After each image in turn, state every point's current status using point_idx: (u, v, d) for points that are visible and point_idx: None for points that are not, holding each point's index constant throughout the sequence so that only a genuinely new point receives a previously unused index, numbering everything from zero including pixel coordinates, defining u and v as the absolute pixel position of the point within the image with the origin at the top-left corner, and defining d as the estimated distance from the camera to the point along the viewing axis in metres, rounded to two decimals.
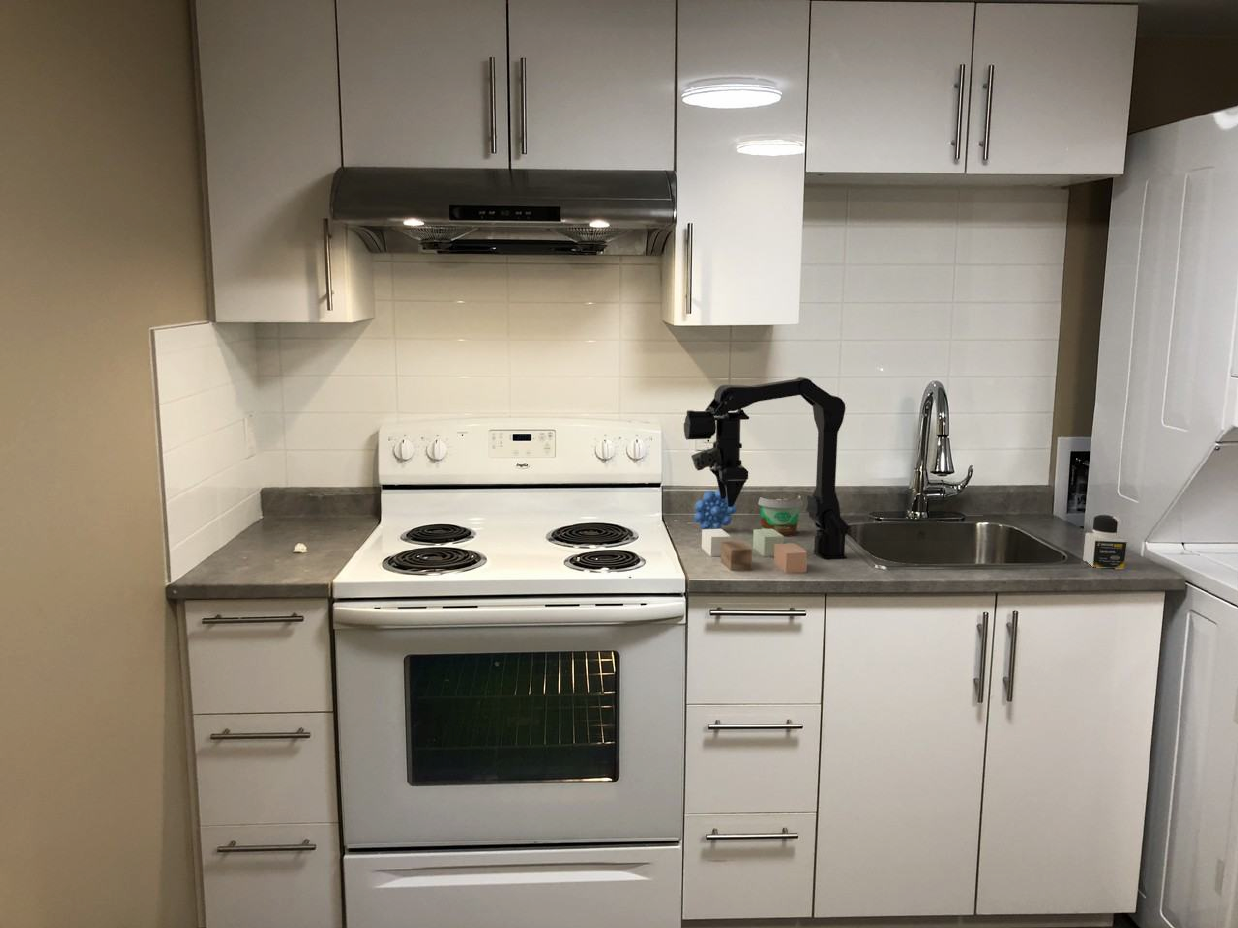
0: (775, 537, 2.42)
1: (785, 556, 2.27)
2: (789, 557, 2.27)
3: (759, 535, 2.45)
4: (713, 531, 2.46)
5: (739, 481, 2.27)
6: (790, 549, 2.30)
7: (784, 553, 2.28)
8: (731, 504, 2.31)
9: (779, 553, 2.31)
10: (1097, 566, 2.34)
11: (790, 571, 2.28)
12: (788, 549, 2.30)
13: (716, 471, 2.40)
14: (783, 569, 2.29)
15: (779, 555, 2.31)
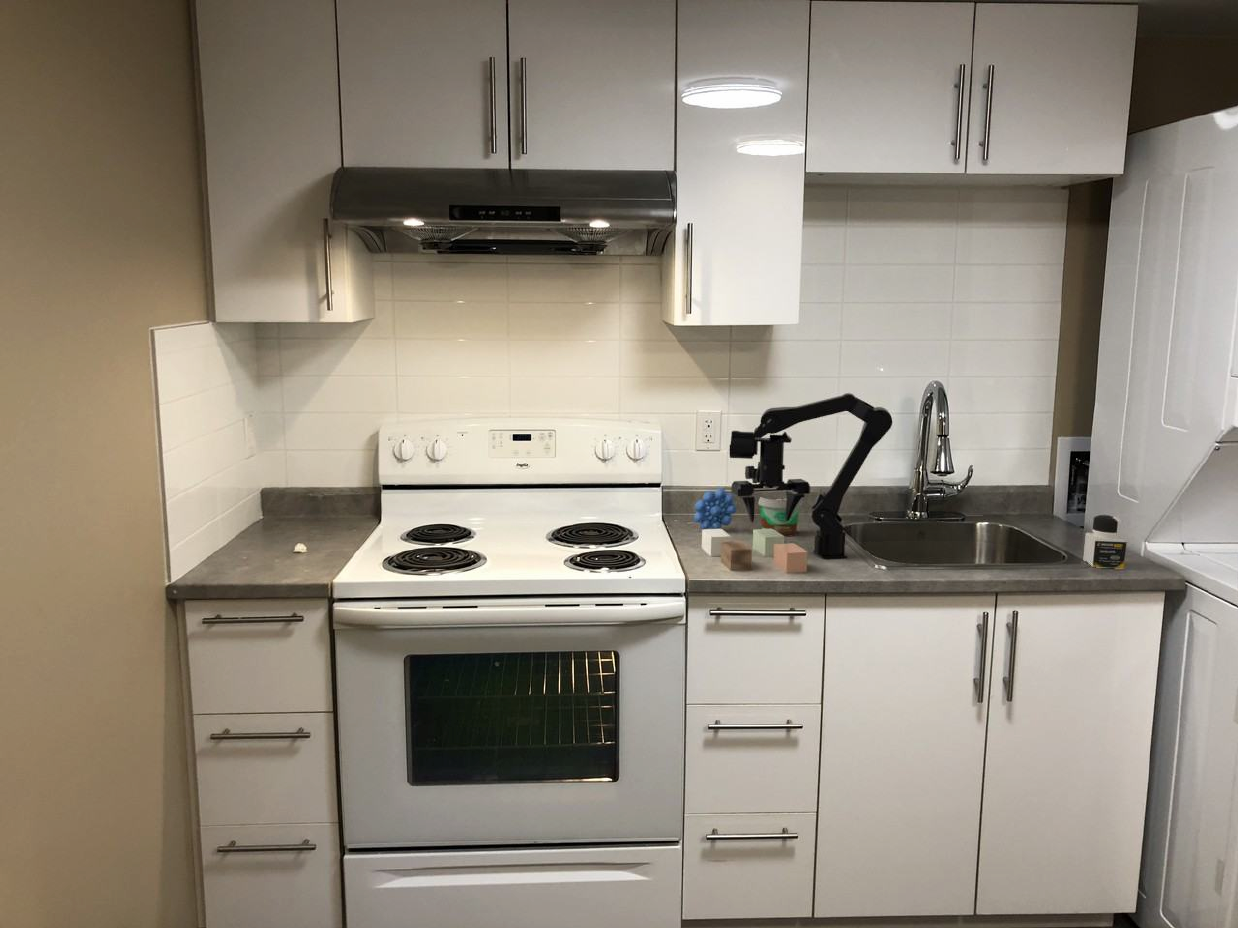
0: (775, 537, 2.42)
1: (785, 556, 2.27)
2: (790, 557, 2.27)
3: (759, 535, 2.45)
4: (713, 531, 2.46)
5: (741, 497, 2.41)
6: (790, 549, 2.30)
7: (784, 553, 2.28)
8: (750, 519, 2.44)
9: (780, 553, 2.31)
10: (1097, 566, 2.34)
11: (791, 571, 2.28)
12: (788, 549, 2.30)
13: (787, 493, 2.46)
14: (783, 569, 2.29)
15: (779, 555, 2.31)
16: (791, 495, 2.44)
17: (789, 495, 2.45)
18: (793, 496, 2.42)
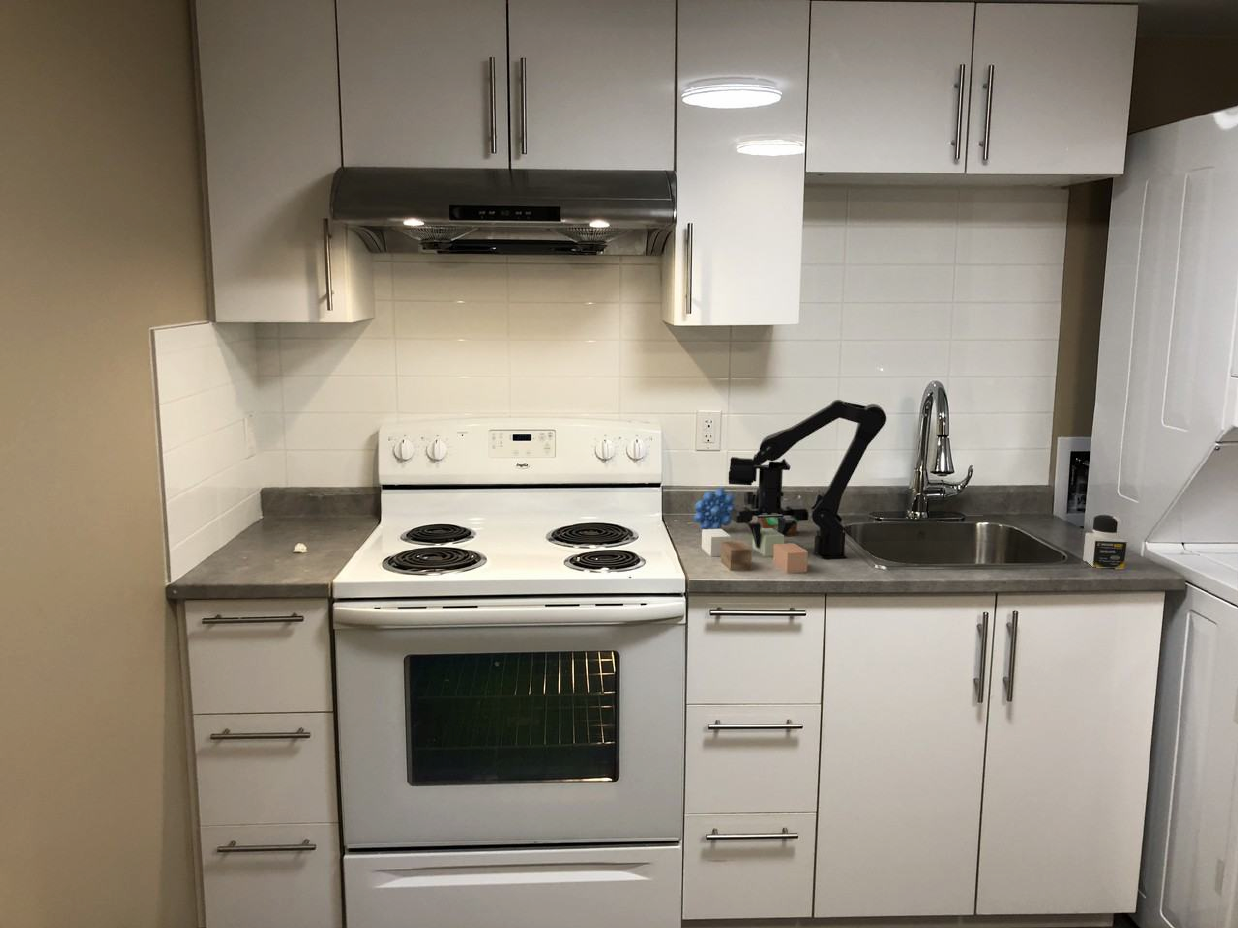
0: (776, 536, 2.42)
1: (786, 556, 2.27)
2: (790, 557, 2.27)
3: None
4: (713, 531, 2.46)
5: (747, 523, 2.42)
6: (790, 549, 2.30)
7: (785, 553, 2.28)
8: (756, 545, 2.45)
9: (780, 553, 2.31)
10: (1097, 566, 2.34)
11: (791, 571, 2.27)
12: (788, 549, 2.29)
13: (779, 519, 2.47)
14: (784, 569, 2.29)
15: (779, 555, 2.31)
16: (782, 522, 2.44)
17: (781, 522, 2.46)
18: (784, 523, 2.43)
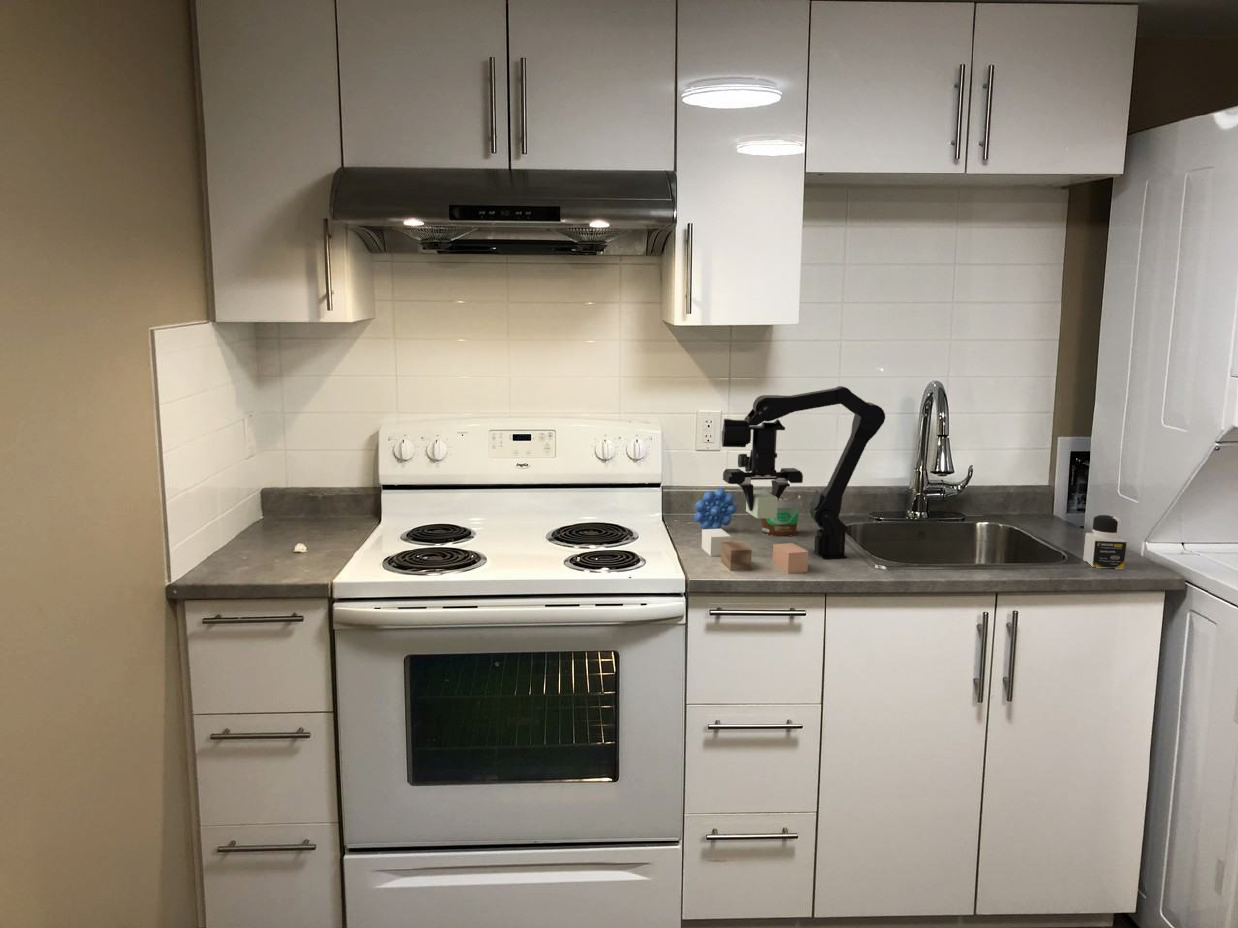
0: (768, 498, 2.37)
1: (787, 556, 2.27)
2: (791, 557, 2.27)
3: None
4: (713, 531, 2.46)
5: (739, 485, 2.38)
6: (791, 549, 2.30)
7: (786, 553, 2.28)
8: (749, 508, 2.41)
9: (780, 553, 2.31)
10: (1097, 566, 2.34)
11: (792, 571, 2.27)
12: (789, 549, 2.29)
13: (773, 482, 2.42)
14: (784, 569, 2.29)
15: (780, 555, 2.31)
16: (776, 484, 2.40)
17: (774, 484, 2.41)
18: (778, 485, 2.38)
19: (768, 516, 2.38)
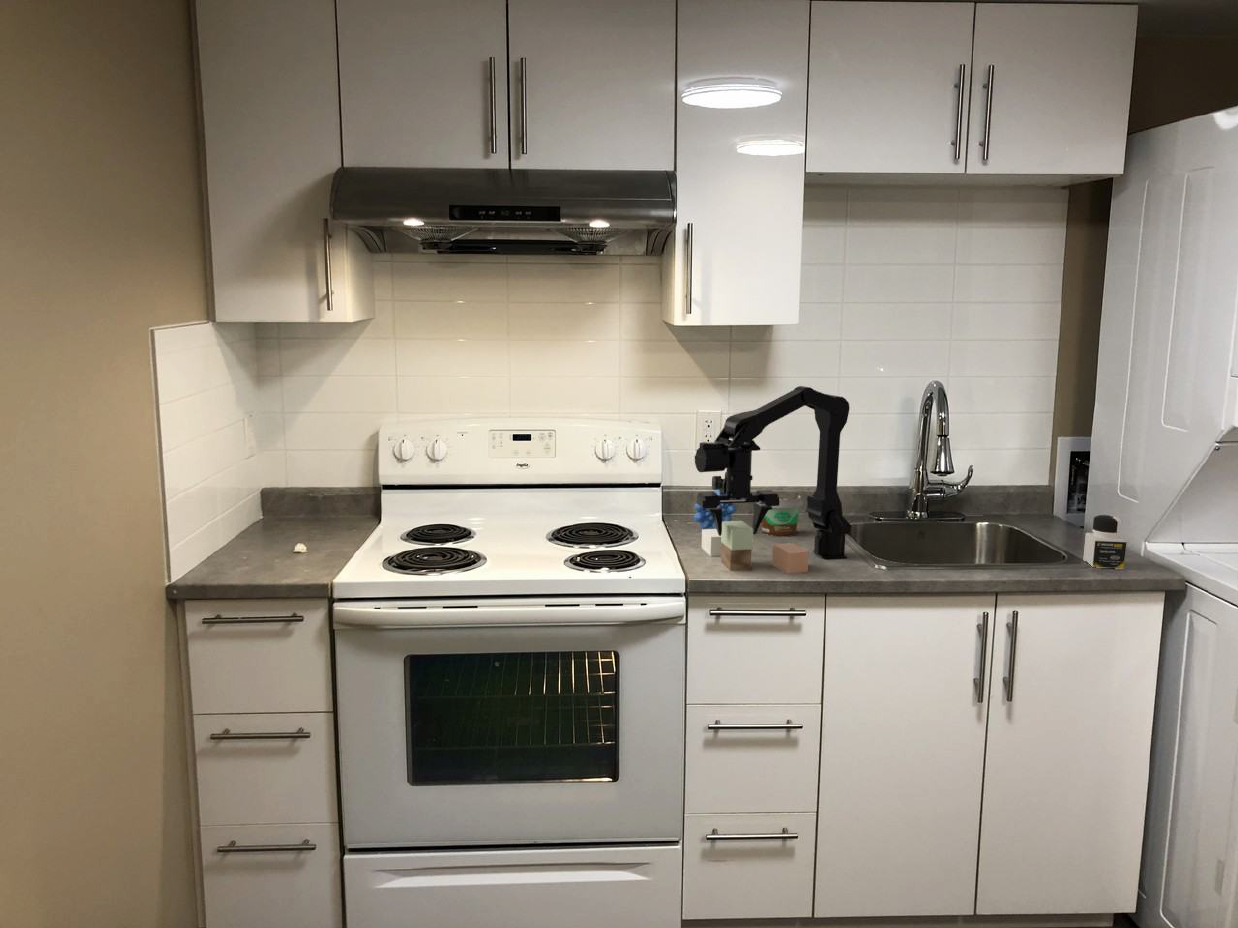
0: (743, 529, 2.28)
1: (788, 556, 2.27)
2: (792, 557, 2.27)
3: (727, 527, 2.31)
4: (713, 531, 2.46)
5: (707, 509, 2.28)
6: (791, 549, 2.30)
7: (786, 553, 2.28)
8: (718, 533, 2.31)
9: (780, 553, 2.30)
10: (1097, 566, 2.34)
11: (793, 571, 2.27)
12: (789, 549, 2.29)
13: (754, 504, 2.33)
14: (785, 569, 2.29)
15: (780, 555, 2.31)
16: (758, 507, 2.31)
17: (756, 507, 2.32)
18: (760, 508, 2.29)
19: (743, 548, 2.29)
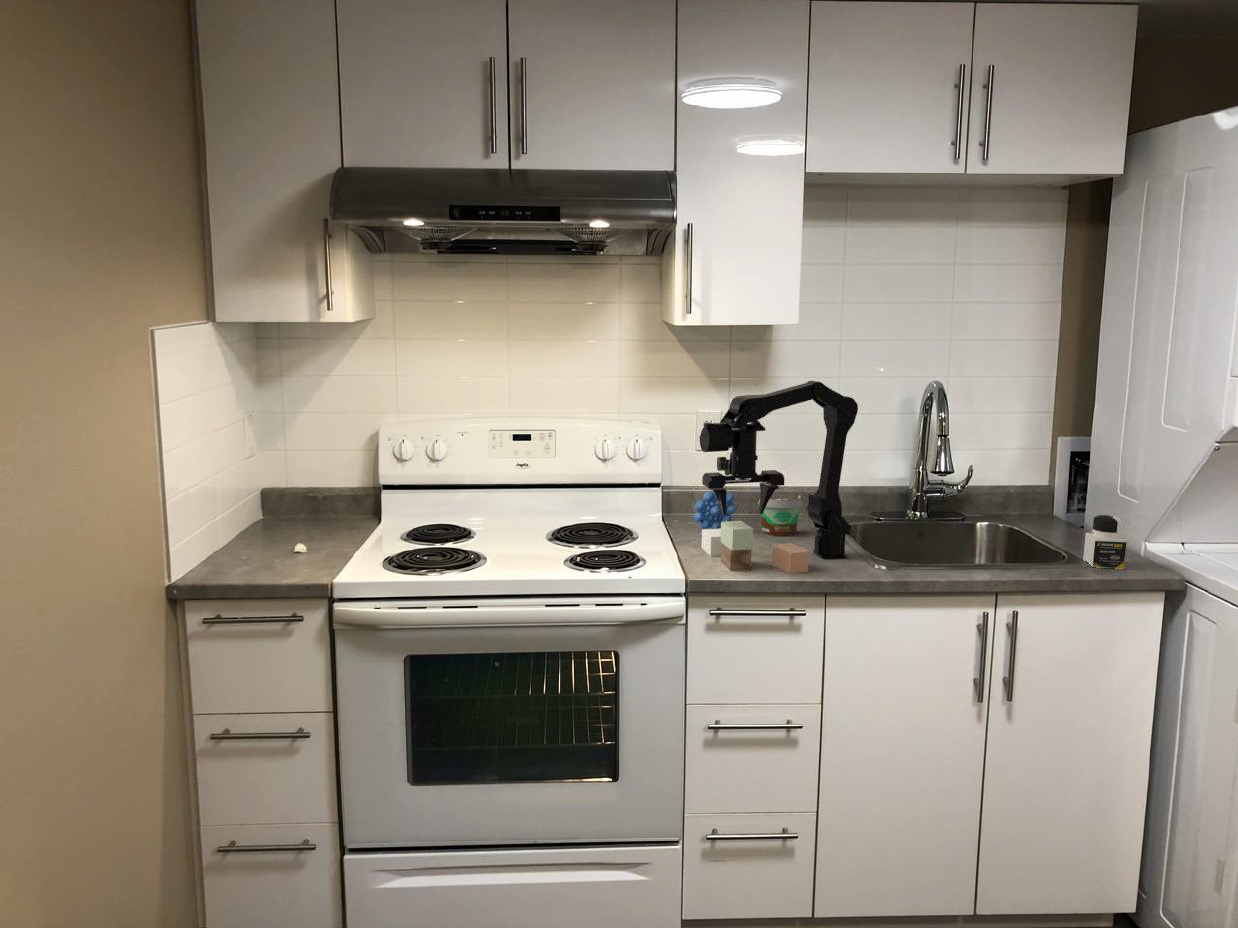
0: (744, 529, 2.28)
1: (788, 556, 2.27)
2: (793, 557, 2.27)
3: (727, 528, 2.31)
4: (713, 531, 2.46)
5: (712, 489, 2.30)
6: (791, 549, 2.30)
7: (787, 553, 2.28)
8: (722, 513, 2.33)
9: (780, 553, 2.30)
10: (1097, 566, 2.34)
11: (793, 571, 2.27)
12: (789, 549, 2.29)
13: (761, 484, 2.35)
14: (786, 569, 2.29)
15: (780, 555, 2.31)
16: (765, 487, 2.33)
17: (763, 487, 2.34)
18: (767, 488, 2.32)
19: (743, 548, 2.29)
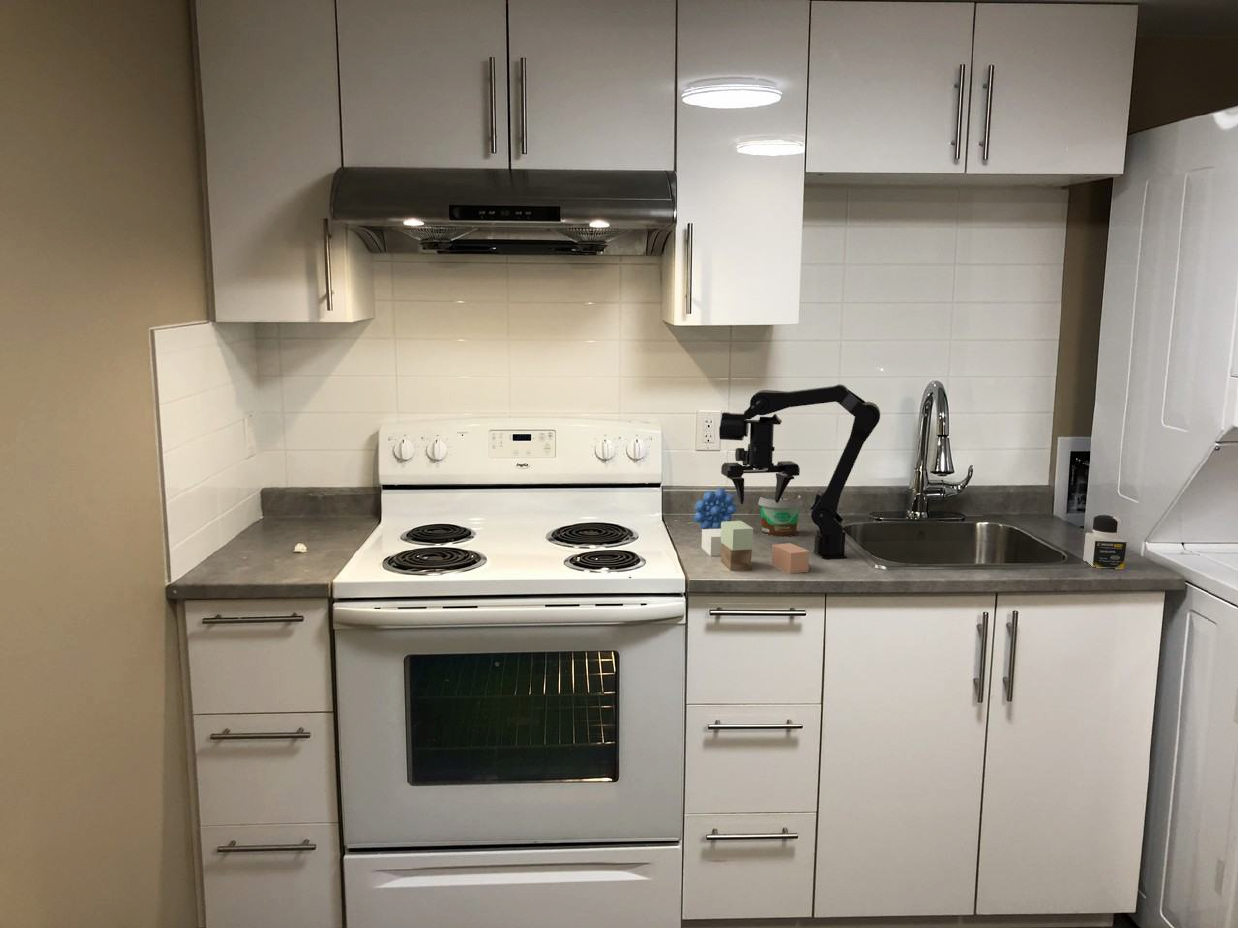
0: (744, 529, 2.28)
1: (789, 556, 2.27)
2: (793, 557, 2.27)
3: (727, 528, 2.31)
4: (713, 531, 2.46)
5: (730, 478, 2.42)
6: (791, 549, 2.30)
7: (787, 553, 2.28)
8: (740, 501, 2.44)
9: (780, 553, 2.30)
10: (1097, 566, 2.34)
11: (794, 571, 2.27)
12: (789, 549, 2.29)
13: (777, 475, 2.47)
14: (786, 569, 2.28)
15: (780, 555, 2.30)
16: (781, 477, 2.44)
17: (779, 477, 2.46)
18: (783, 478, 2.43)
19: (744, 548, 2.29)
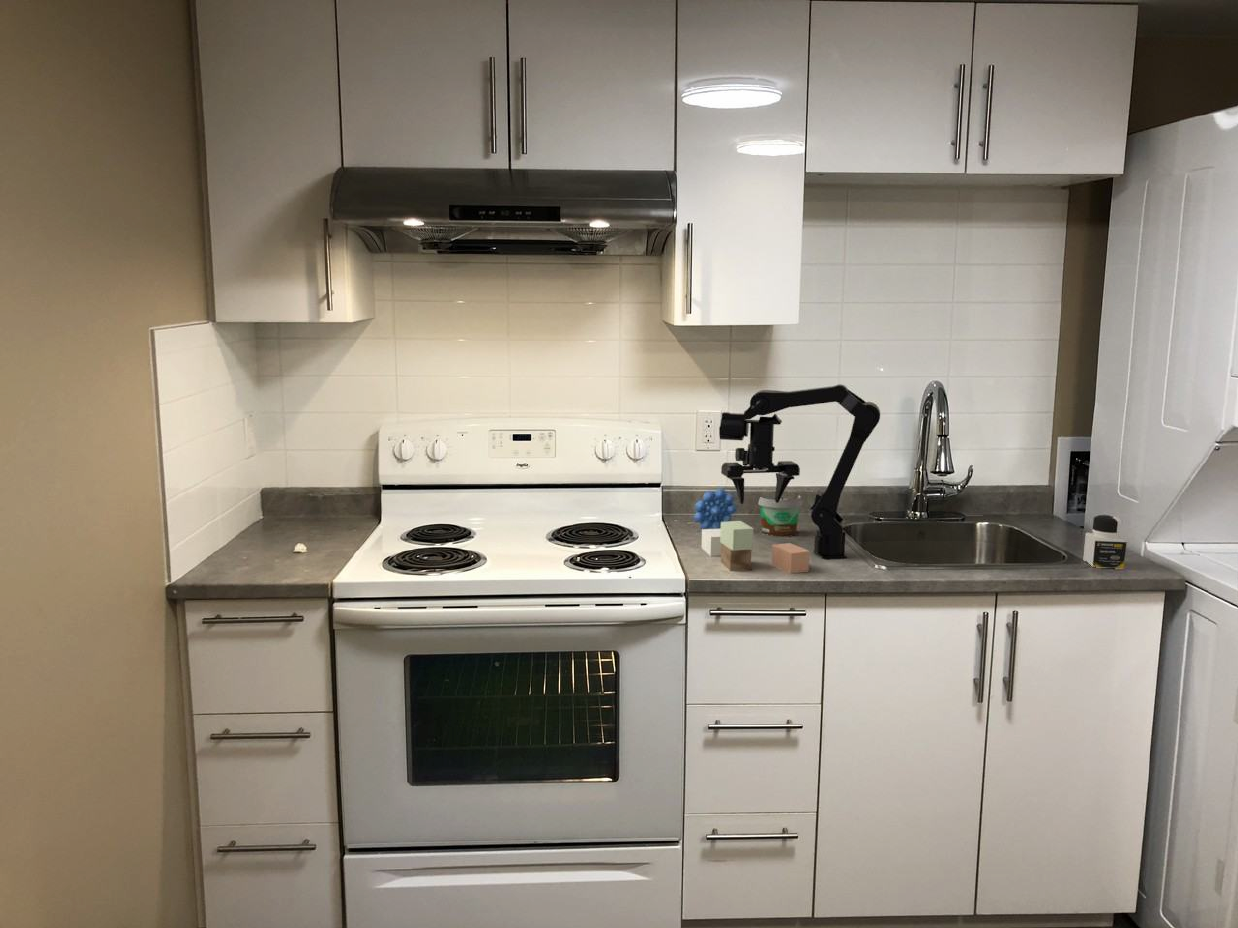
0: (744, 529, 2.28)
1: (789, 556, 2.27)
2: (794, 557, 2.27)
3: (727, 528, 2.31)
4: (713, 531, 2.46)
5: (730, 478, 2.42)
6: (791, 549, 2.30)
7: (788, 553, 2.28)
8: (740, 501, 2.44)
9: (780, 553, 2.30)
10: (1097, 566, 2.34)
11: (794, 571, 2.28)
12: (790, 549, 2.29)
13: (777, 475, 2.47)
14: (786, 569, 2.28)
15: (780, 555, 2.30)
16: (781, 477, 2.44)
17: (779, 477, 2.46)
18: (783, 478, 2.43)
19: (744, 548, 2.28)
